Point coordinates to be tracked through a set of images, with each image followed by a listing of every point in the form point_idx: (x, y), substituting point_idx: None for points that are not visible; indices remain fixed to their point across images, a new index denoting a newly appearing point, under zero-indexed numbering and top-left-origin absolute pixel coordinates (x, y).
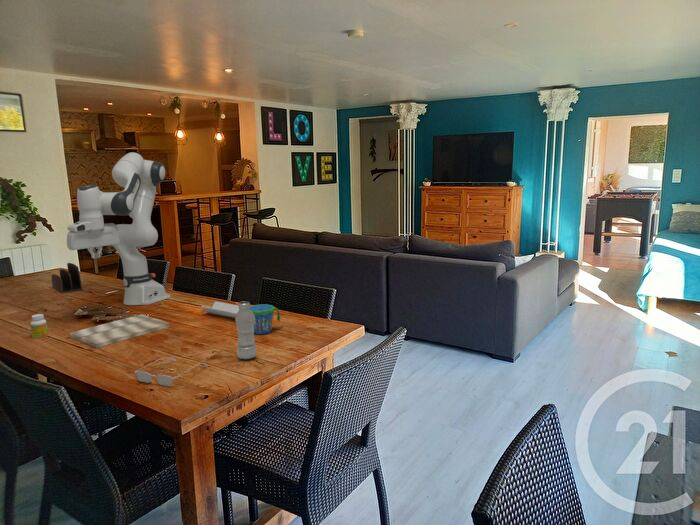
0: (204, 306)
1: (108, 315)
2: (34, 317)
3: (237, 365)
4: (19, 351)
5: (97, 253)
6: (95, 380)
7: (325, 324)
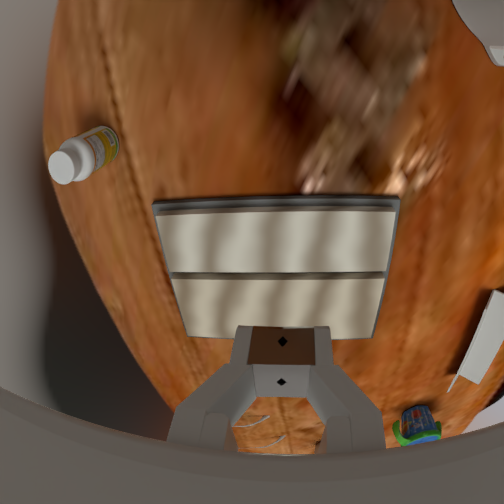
0: (482, 319)
1: (349, 46)
2: (55, 179)
3: (304, 446)
4: (65, 208)
5: (299, 390)
6: (166, 395)
7: (459, 422)
